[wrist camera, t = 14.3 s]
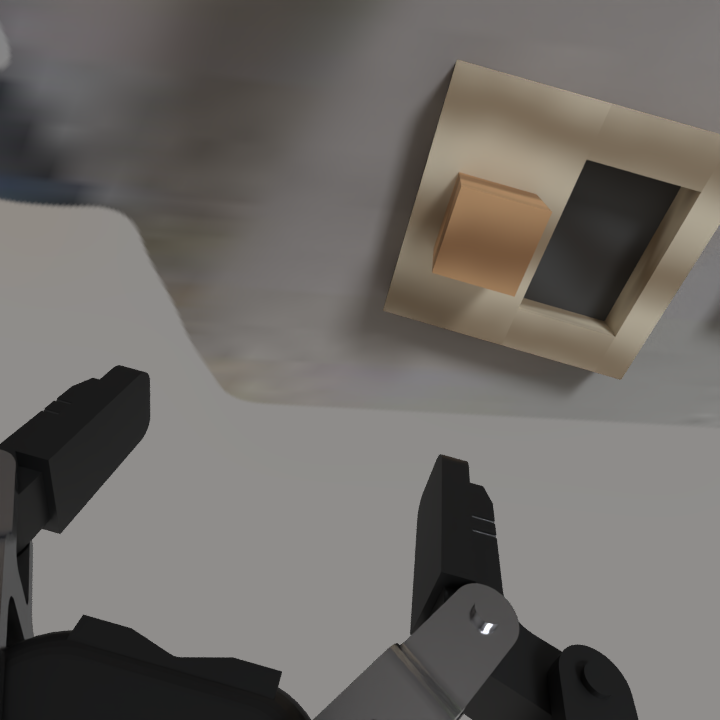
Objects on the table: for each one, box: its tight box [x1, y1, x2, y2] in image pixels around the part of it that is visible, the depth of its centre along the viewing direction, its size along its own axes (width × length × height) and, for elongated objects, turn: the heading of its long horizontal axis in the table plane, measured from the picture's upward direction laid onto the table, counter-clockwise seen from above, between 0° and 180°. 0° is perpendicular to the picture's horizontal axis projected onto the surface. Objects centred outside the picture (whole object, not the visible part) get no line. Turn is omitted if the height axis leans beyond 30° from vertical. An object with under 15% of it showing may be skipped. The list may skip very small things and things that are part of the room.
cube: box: [432, 172, 552, 297], centre depth 29 cm, size 5×5×5 cm
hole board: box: [383, 60, 720, 380], centre depth 32 cm, size 16×18×3 cm
